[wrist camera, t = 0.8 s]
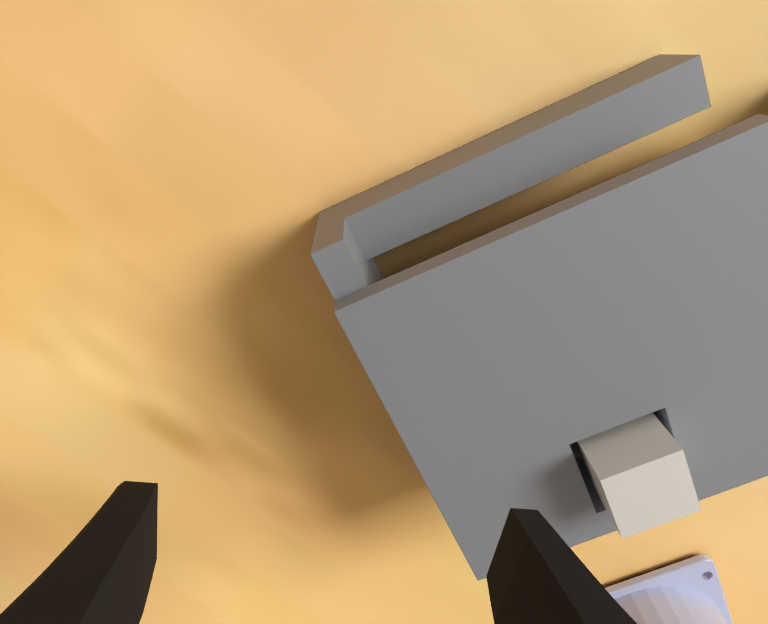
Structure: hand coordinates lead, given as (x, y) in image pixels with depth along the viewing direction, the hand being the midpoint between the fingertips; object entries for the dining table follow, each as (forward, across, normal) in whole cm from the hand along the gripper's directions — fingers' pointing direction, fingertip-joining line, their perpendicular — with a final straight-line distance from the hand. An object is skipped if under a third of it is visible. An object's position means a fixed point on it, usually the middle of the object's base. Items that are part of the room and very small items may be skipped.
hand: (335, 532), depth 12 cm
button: (+6, -9, +1) cm, 11 cm away
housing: (+10, -7, -2) cm, 13 cm away
